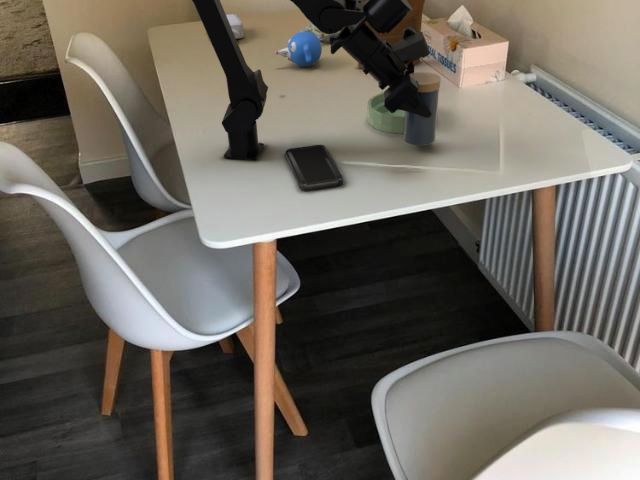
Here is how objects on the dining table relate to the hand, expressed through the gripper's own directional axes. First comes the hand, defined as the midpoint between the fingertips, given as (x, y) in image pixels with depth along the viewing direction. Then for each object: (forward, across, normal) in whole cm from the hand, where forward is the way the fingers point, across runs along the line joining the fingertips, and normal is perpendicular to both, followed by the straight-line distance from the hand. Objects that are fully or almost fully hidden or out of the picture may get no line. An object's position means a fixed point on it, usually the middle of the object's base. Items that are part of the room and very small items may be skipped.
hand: (428, 109), depth 124 cm
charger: (-29, +73, +42) cm, 89 cm away
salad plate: (-7, +75, +20) cm, 78 cm away
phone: (-9, -8, +21) cm, 24 cm away
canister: (+3, 0, +5) cm, 6 cm away
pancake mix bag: (+3, +47, +9) cm, 48 cm away
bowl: (+3, +13, +9) cm, 16 cm away
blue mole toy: (-13, +48, +26) cm, 56 cm away
